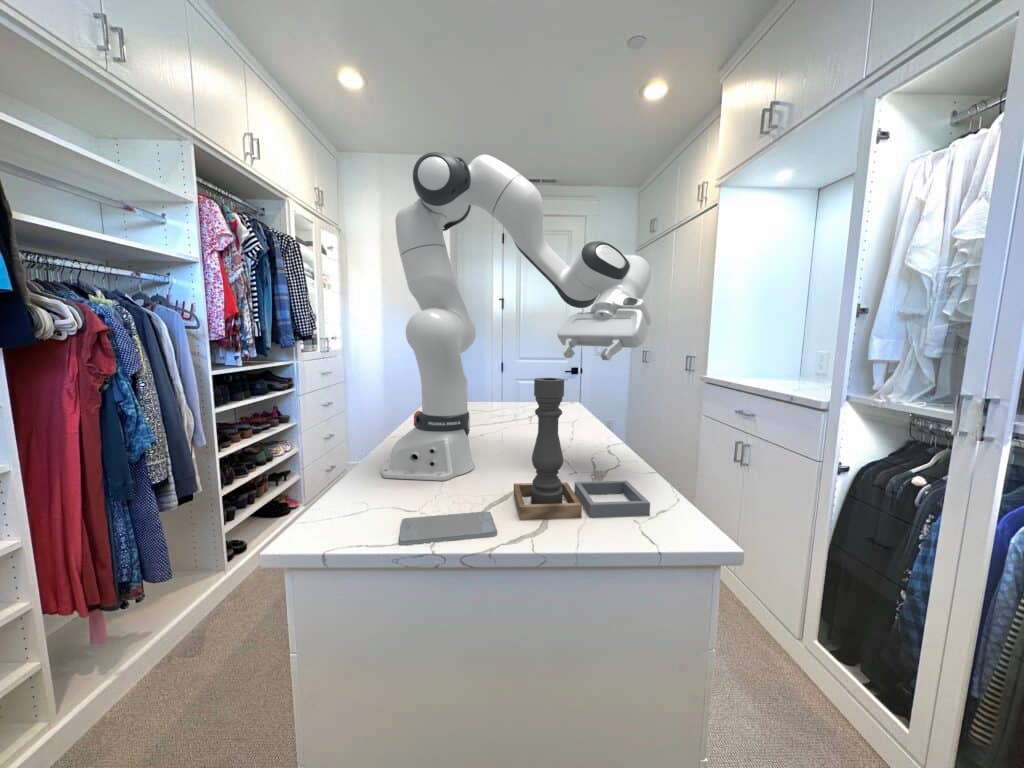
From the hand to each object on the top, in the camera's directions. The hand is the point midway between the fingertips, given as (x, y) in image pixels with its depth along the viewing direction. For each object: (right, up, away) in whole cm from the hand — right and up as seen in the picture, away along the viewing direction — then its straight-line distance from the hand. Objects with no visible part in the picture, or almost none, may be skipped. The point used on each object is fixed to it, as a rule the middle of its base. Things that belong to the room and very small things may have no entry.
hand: (585, 357), depth 83 cm
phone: (-26, -31, -15) cm, 44 cm away
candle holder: (-9, -30, -5) cm, 31 cm away
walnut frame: (-9, -30, -6) cm, 31 cm away
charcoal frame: (+4, -30, -4) cm, 30 cm away
